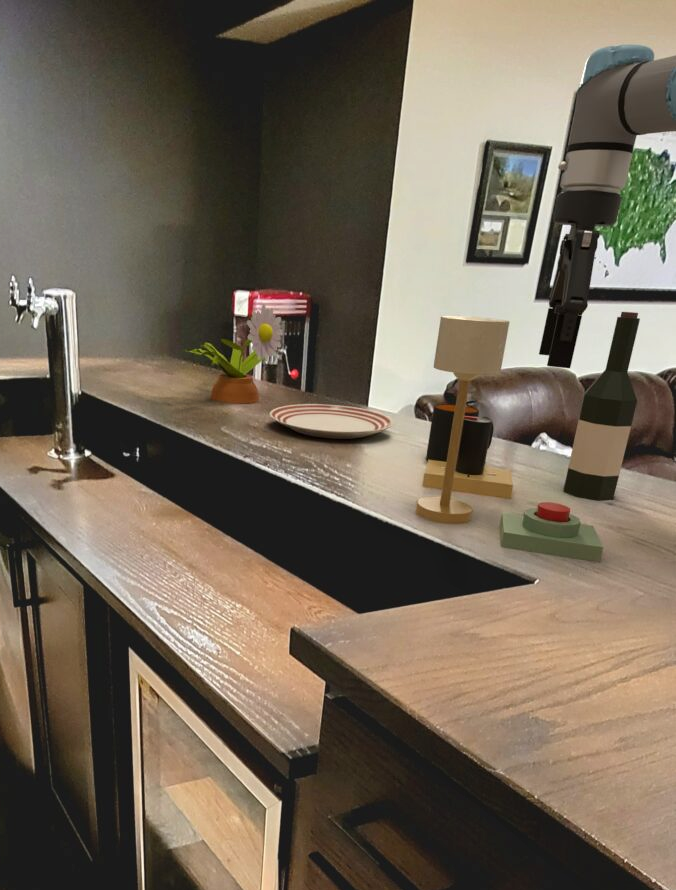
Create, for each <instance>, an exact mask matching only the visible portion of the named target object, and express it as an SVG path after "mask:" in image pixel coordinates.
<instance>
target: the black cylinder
mask: <svg viewBox="0 0 676 890" xmlns="http://www.w3.org/2000/svg"><path fill="white" fill-rule="evenodd" d="M482 417H483V416H478V417H471V416H464V420H463V426H462V432H461V438H460V444H459V450H458V457H457V463H456V469H455V471H457V472H459V473H463V474H468V475H481V474H483V472H484V467H486V462H487V461H486V460H487V456H488V455H487V454H488V450H489V449H488V444H489V439H490V433H491V428H492V423H494V421H493V420H492V419H491V418H489V419H487V418H482ZM490 419H491V420H490Z"/></svg>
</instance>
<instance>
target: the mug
mask: <svg viewBox="0 0 676 890" xmlns="http://www.w3.org/2000/svg"><path fill="white" fill-rule="evenodd" d="M455 406H456V404H453V403H452V404H449V403H439V404H434V406H433V410H432V415H431V422H430V430H429V436H428V443H427V449H426V456H425V459H426V461H428V460H435V461H443V462H447V455H448V449H449V443H450V437H451V431H452V424H453V418H454V412H455ZM479 415H480V409H478V408H475V407H472V406H467V405H466V408H465V414H464V416H471V417H479ZM481 417H482V418H487V419H490V420H492V419H491V418H489V417H488V416H481ZM494 429H495V428H494V422H492V428H491V433H490V439H489V444H488V450H489V449H490V447H491V445H492V440H493V436H494Z"/></svg>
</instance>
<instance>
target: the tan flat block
mask: <svg viewBox="0 0 676 890" xmlns="http://www.w3.org/2000/svg"><path fill="white" fill-rule="evenodd" d="M445 468H446V462H443V461H435V460H427V464H426V467H425V470H424V473H423V474H424V475H423V481H422V488H428V489H436V490H442V487H443V480H444V474H445ZM513 487H514V483H513V476H512V471H511V469H505V468H497V467H489V466H485V467H484V472H483V474H481V475H468V474H463V473H459V472H457V471H455V475H454V481H453V487H452V492H456V493H463V494H471V495H479V496H485V497H491V498H499V499H506V500H511V497H512V493H513Z"/></svg>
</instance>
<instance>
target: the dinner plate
mask: <svg viewBox="0 0 676 890" xmlns="http://www.w3.org/2000/svg"><path fill="white" fill-rule="evenodd" d="M268 415H269V417H270V419H272V420H274V421H275V422H277V423H279V424H281V425H282V426H284V427H286V428H289V429H290V430H292V431H294V432H296V433H299V434H302V435H306V436H311V437H315V438H324V439H333V440H334V439H335V440H345V439H346V440H350V439H352V440H353V439H360V438H365V437H367V436H371V435H374V434H379V433H381V432H385V431H386V430H388V429H390V428H392V427H393V426H394V423H395V422H394V420H393V418H391V417H390V416H388V415H387V414H384V413H382V412H379V411H376V410H372V409H367V408H362V407H355V406H348V405H339V404H337V405H336V404H323V403H303V404H302V403H301V404H300V403H299V404H290V405H289V404H288V405H283V406H279V407H276V408H273V409H272V410H271V411H270V412H269V414H268Z"/></svg>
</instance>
